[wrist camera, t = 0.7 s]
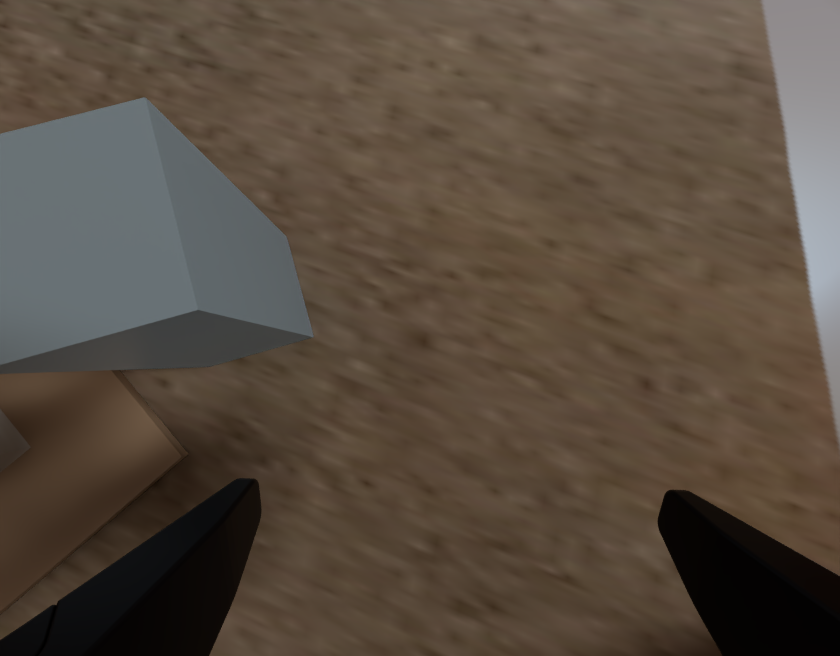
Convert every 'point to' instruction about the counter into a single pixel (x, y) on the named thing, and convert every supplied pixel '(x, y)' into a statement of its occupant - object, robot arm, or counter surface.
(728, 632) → the robot arm
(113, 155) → the tall slate pillar
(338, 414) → the counter surface
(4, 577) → the post base
